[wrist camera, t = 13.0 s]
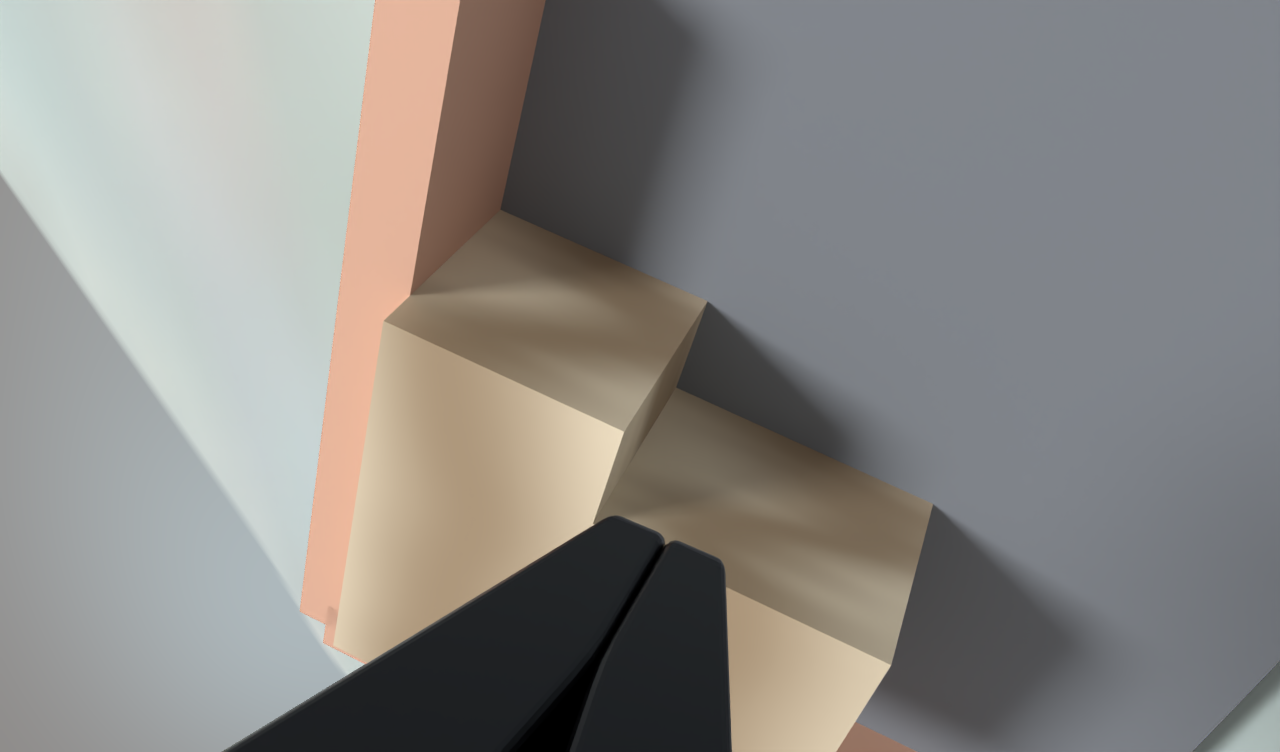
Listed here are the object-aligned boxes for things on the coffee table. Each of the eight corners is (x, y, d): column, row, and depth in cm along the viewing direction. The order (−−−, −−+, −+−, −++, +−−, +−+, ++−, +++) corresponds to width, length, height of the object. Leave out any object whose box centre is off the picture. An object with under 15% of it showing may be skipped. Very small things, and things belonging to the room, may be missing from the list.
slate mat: (1838, 42, 14) (1862, 58, 13) (1066, 859, 26) (1065, 883, 25) (531, -433, 16) (511, -433, 16) (370, 520, 28) (357, 537, 27)
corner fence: (1386, 239, 16) (1424, 362, 14) (945, 807, 25) (920, 943, 23) (493, -120, 18) (384, -68, 15) (379, 531, 27) (297, 629, 24)
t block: (981, 421, 20) (944, 579, 17) (816, 701, 25) (765, 863, 22) (500, 209, 21) (383, 320, 18) (434, 516, 26) (333, 645, 23)
